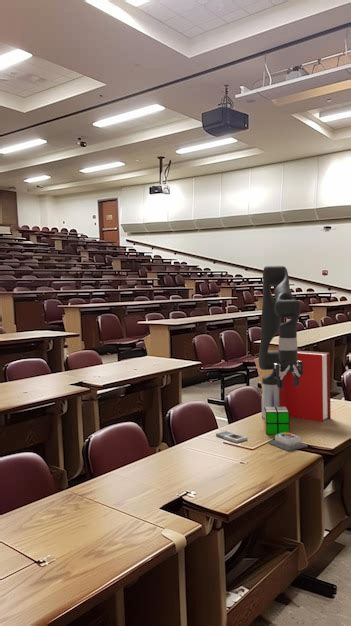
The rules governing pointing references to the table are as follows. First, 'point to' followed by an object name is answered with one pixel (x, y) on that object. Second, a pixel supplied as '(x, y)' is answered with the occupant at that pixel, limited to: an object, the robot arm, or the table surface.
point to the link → (288, 440)
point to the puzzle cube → (276, 420)
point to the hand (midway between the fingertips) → (288, 387)
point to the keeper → (287, 435)
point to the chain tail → (229, 436)
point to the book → (309, 388)
